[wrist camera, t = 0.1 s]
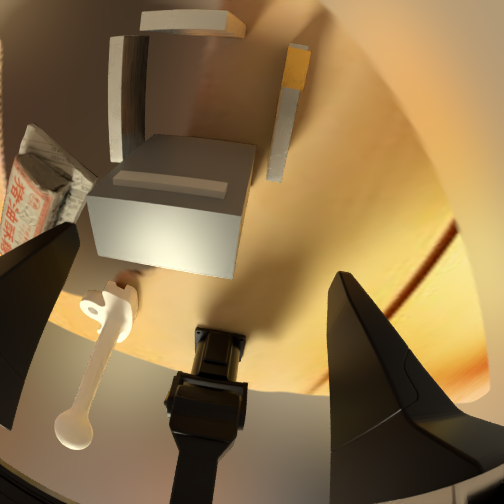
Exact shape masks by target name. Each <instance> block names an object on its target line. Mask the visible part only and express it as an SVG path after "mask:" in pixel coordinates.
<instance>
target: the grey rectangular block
mask: <svg viewBox="0 0 504 504" xmlns="http://www.w3.org/2000/svg"><path fill="white" fill-rule="evenodd" d="M256 147H257V145H250V144H244V143H237V142H229V141H222V140H214V139H205V138H196V137H185V136H173V135H161V134H154V135H153V136H152V137H150V138H149V139H148V140H147V141H146V142H144V143H143V144H142V145H141V146H139V147H138V148H137V149H136V150H135V151H133V152H132V153H131V154H130V155H129V156H128V157H126V158H125V159H124V160H123V161H122V162H121V163H120V164H119V165H118V166H116V167H115V168H114V169H113V170H112V171H111V172H110V173H109V174H108V175H107V176H105V177H104V178H103V179H102V180H101V181H100V182H99V183H98V184H97V185H96V186H95V187H94V188H93V189H92V190H91V191H90V192H89V193H88V194H87V195H86V199H87V205H88V210H89V215H90V220H91V225H92V230H93V235H94V239H95V243H96V248H97V252H98V255H99V256H104V257H109V258H114V259H119V260H125V261H130V262H135V263H140V264H146V265H151V266H156V267H162V268H167V269H173V270H179V271H184V272H190V273H196V274H202V275H207V276H213V277H219V278H225V279H231V280H233V275H234V269H235V264H236V259H237V254H238V248H239V243H240V238H241V233H242V227H243V222H244V217H245V212H246V207H247V202H248V196H249V191H250V185H251V178H252V172H253V166H254V159H255V153H256Z"/></svg>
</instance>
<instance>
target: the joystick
mask: <svg viewBox="0 0 504 504" xmlns="http://www.w3.org/2000/svg"><path fill="white" fill-rule="evenodd" d="M80 307H81V309H82V310H83V312H84V313H85V314H86V315H88V316H89V317H91V318H92V319H95V320H97V321H99V322H100V323H101V324H100V326H99V329H98V331H97V332H98V333H99V334H100V335H99V337H98V340H97V342H96V345H95V347H94V350H93V352H92V355H91V357H90V360H89V363H88V365H87V367H86V370H85V373H84V376H83V378H82V381H81V384H80V387H79V390H78V392H77V395H76V398H75V401H74V404H73V406H72V407H71V408H70V409H69V410H67V411H65V412H63V413H61V414H60V415H59V416H58V417H57V418H56V420H55V425H54V429H55V433H56V436H57V438H58V439H59V440H60V442H61V443H62V444H64V445H65V446H66V447H69V448H71V449H75V450H80V449H84V448H86V447H87V446H88V445H89V444H90V443H91V441H92V438H93V429H92V427H91V424H90V422H89V419H88V412H89V409H90V407H91V404H92V401H93V399H94V396H95V393H96V391H97V388H98V385H99V383H100V380H101V378H102V375H103V373H104V371H105V368H106V365H107V363H108V361H109V358H110V356H111V354H112V351H113V349H114V347H115V344H116V342H117V343H120V342H122V341H123V340H124V339H125V338H126V337H127V336H128V334H129V333H130V330H131V328H132V325H133V323H134V320H135V318H136V315H137V311H138V296H137V291H136V289H135V288H134V287H132V286H129V285H126V287H125V289H122V288H120V287H118V286H117V285H116V282H114V281H111V280H110V281H108V283H107V285H106V287H105V288H104V290H103V292H102V293H101V292H99V291H96V290H89V291H87V292H86V294H85V295H84V297H83V299H82V301H81V302H80Z"/></svg>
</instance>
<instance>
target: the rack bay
mask: <svg viewBox="0 0 504 504" xmlns="http://www.w3.org/2000/svg"><path fill="white" fill-rule="evenodd" d="M246 27H247V26H246V25H245V24H244V23H243V22H242V21H240V20H239V19H238V18H237V17H235V16H234V15H233V14H232V13H230V12H229V11H228V10H198V9H197V10H196V9H195V10H194V9H193V10H192V9H191V10H190V9H189V10H161V11H148V12H142V16H141V25H140V31H153V32H165V33H175V34H183V35H204V36H223V37H235V38H245V33H246ZM148 45H149V36H118V37H111V38H110V51H109V74H108V114H109V115H108V116H109V139H110V140H109V141H110V156H111V162H122V161H123V160H124V159H125V158H126V157H128V156H129V155H130V154H131V153H132V152H133V151H135V150H136V149H137V148H138V147H139V146H141V145H142V144H143V143H144V142H145V90H146V70H147V57H148ZM308 48H309V46H305V45H300V44H295V43H290V44H289V45H288V51H287V56H286V62H285V67H284V73H283V78H282V84H281V89H280V95H279V100H278V106H277V111H276V117H275V122H274V128H273V134H272V139H271V145H270V150H269V156H268V164H267V174H266V180H268V181H274V182H280V183H281V181H282V176H283V172H284V167H285V162H286V157H287V153H288V148H289V143H290V138H291V133H292V128H293V124H294V119H295V114H296V109H297V104H298V99H299V94H300V90H302V91H303V90H304V85H305V80H306V75H307V70H308V65H309V60H310V55H311V51H308Z"/></svg>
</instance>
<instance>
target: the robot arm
mask: <svg viewBox="0 0 504 504" xmlns="http://www.w3.org/2000/svg"><path fill="white" fill-rule="evenodd" d="M79 247H80V239H79V236H78V231H77V226H76V224H75V223H72V222H63V223H61V224H59V225H57V226H55V227H53V228H51V229H49V230H47V231H45V232H43V233H41V234H40V235H38V236H36V237H34V238H32V239H30V240H28V241H26V242H25V243H23V244H21V245H19V246H17V247H16V248H14V249H12V250H10V251H9V252H7V253H5V254H4V255H2V256H0V425H2V426H3V427H5V428H6V429H8V430H9V431H11V429H12V426H13V422H14V417H15V414H16V410H17V406H18V403H19V399H20V396H21V392H22V389H23V385H24V382H25V379H26V376H27V373H28V370H29V367H30V364H31V361H32V359H33V356H34V353H35V351H36V348H37V345H38V343H39V340H40V338H41V335H42V333H43V330H44V328H45V325H46V323H47V321H48V319H49V316H50V314H51V312H52V310H53V307H54V305H55V303H56V301H57V299H58V297H59V295H60V292H61V290H62V288H63V286H64V284H65V281H66V279H67V277H68V274H69V271H70V269H71V267H72V264H73V262H74V259H75V257H76V254H77V252H78V250H79ZM245 341H246V337H245V336H243V335H238V334H231V333H225V332H219V331H213V330H208V329H202V328H196V329H195V358H194V362H193V367H192V371H191V374H188V373H183V372H182V371H178V373H177V375H176V376H174V378H173V382H172V386H171V388H170V390H169V392H168V394H167V396H166V399H165V401H164V405H165V406H166V408H167V417H169V418H170V422H169V426H170V429H171V432H172V435H173V437H174V440H175V442H176V445H177V447H178V450H179V456H178V461H177V466H176V471H175V477H174V482H173V487H172V493H171V498H170V504H212V501H213V493H214V486H215V479H216V472H217V464H218V462H219V461H220V460H221V459H222V458H223V457H224V456H225V454H226V453H227V452H228V451H229V450H230V449H231V448H232V446H233V444H234V442H235V439H236V436H237V430H243V427H244V422H245V416H246V405H247V389H248V383H247V382H243V383H242V382H236V379H237V371H238V363H239V362H240V361H241V358H242V354H243V349H244V345H245ZM327 350H328V367H329V388H330V419H331V471H330V504H504V426H501V425H498V424H495V423H491V422H488V421H485V420H482V419H479V418H476V417H473V416H470V415H468V414H465V413H464V412H462V411H461V410H459V409H458V408H457V407H456V406H455V405H454V403H453V402H452V401H451V400H450V399H449V397H448V396H447V395H446V394H445V393H444V391H443V390H442V389H441V388H440V387H439V385H438V384H437V383H436V382H435V381H434V379H433V378H432V377H431V376H430V374H429V373H428V372H427V371H426V370H425V368H424V367H423V366H422V364H421V363H420V362H419V360H418V359H417V358H416V356H415V355H414V354H413V352H412V351H411V350H410V349H408V346H407V344H406V343H405V342H404V340H403V339H402V338H401V336H400V335H399V334H398V332H397V331H396V330H395V328H394V327H393V326H392V324H391V323H390V322H389V321H388V319H387V318H386V317H385V315H384V314H383V313H382V312H381V310H380V309H379V308H378V306H377V305H376V304H375V303H374V301H373V300H372V299H371V298H370V296H369V295H368V294H367V293H366V291H365V290H364V289H363V288H362V286H361V285H360V284H359V283H358V282H357V280H356V279H355V278H354V277H353V275H352V274H351V273H349V272H344V271H338V272H337V273H336V275H335V277H334V279H333V282H332V284H331V286H330V288H329V291H328V310H327ZM0 504H79V503H77V502H75V501H72V500H70V499H68V498H66V497H64V496H62V495H60V494H58V493H56V492H54V491H52V490H50V489H48V488H47V487H45V486H43V485H41V484H40V483H38V482H36V481H34V480H33V479H31V478H29V477H28V476H26V475H24V474H23V473H21V472H20V471H18V470H17V469H15V468H13V467H12V466H10V465H9V464H7V463H6V462H5V461H3V460H2V459H0Z"/></svg>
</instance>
